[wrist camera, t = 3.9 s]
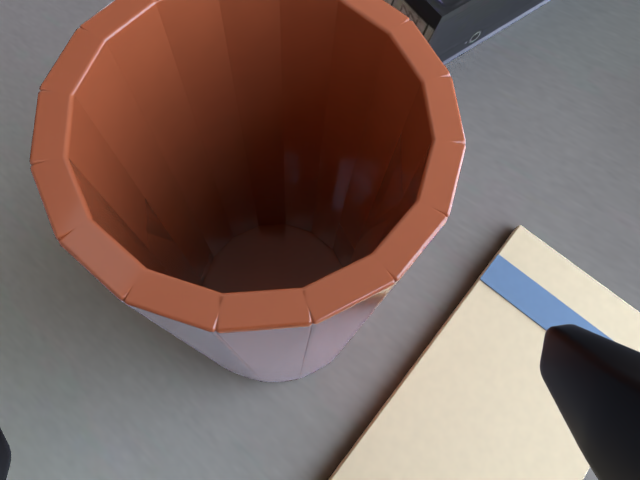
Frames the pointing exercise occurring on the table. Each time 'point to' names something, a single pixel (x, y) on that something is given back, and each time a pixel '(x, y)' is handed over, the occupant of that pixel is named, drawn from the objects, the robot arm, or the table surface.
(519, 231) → the towel
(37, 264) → the table surface
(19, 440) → the table surface
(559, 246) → the table surface
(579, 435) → the robot arm
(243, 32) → the pot
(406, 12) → the portable cd player
